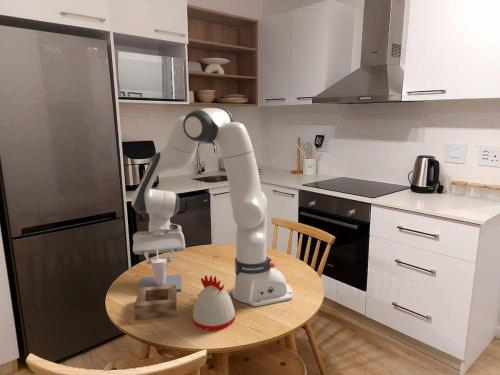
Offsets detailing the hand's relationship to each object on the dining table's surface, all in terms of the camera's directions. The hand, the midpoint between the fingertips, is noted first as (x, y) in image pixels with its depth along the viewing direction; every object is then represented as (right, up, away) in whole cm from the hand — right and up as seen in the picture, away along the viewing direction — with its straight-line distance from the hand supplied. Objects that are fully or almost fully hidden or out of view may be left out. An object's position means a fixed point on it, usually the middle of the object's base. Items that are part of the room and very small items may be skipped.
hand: (159, 262), depth 142 cm
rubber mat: (0, -9, +3) cm, 10 cm away
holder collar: (+3, -13, -14) cm, 20 cm away
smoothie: (0, -9, +2) cm, 9 cm away
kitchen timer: (+23, -14, -21) cm, 34 cm away
